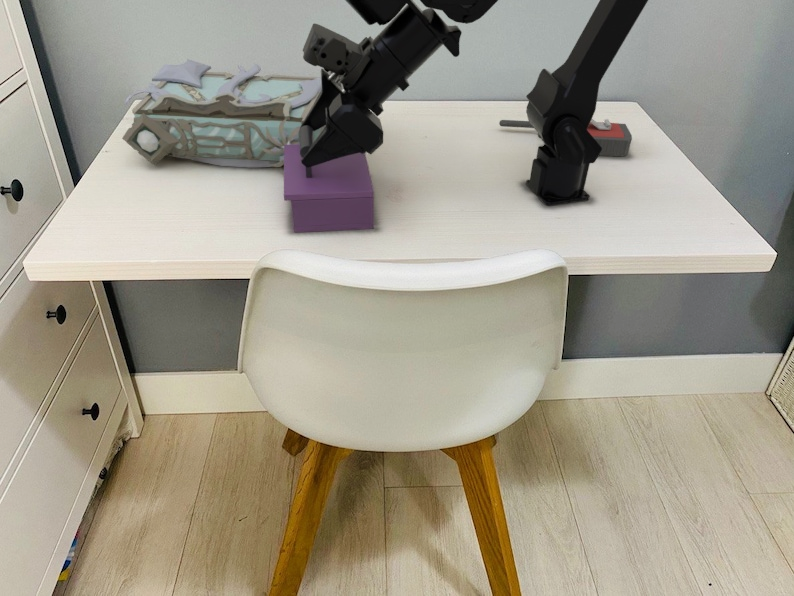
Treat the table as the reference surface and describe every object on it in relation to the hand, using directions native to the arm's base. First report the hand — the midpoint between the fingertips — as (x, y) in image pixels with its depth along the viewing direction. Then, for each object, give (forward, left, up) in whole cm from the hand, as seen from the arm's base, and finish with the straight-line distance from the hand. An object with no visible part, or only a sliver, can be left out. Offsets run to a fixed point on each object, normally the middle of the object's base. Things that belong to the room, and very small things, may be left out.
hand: (303, 147), depth 80 cm
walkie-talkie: (-42, -8, -8) cm, 44 cm away
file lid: (-3, 0, -3) cm, 4 cm away
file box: (-3, +1, -8) cm, 8 cm away
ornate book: (+5, -21, -8) cm, 23 cm away
